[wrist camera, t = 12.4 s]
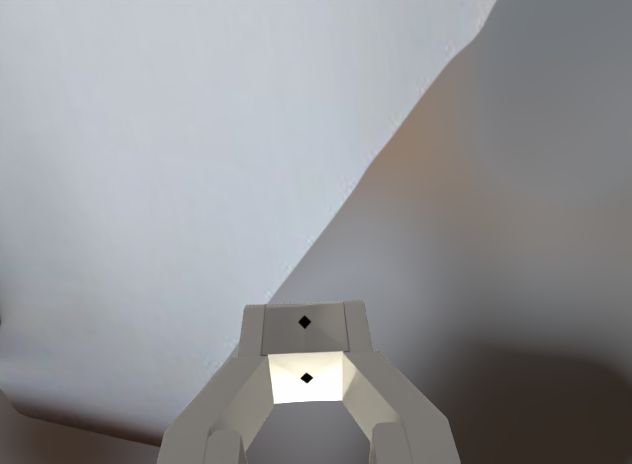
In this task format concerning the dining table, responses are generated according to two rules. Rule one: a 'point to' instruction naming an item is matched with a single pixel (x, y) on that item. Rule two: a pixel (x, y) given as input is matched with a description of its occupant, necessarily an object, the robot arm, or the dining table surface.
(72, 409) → the dining table surface
